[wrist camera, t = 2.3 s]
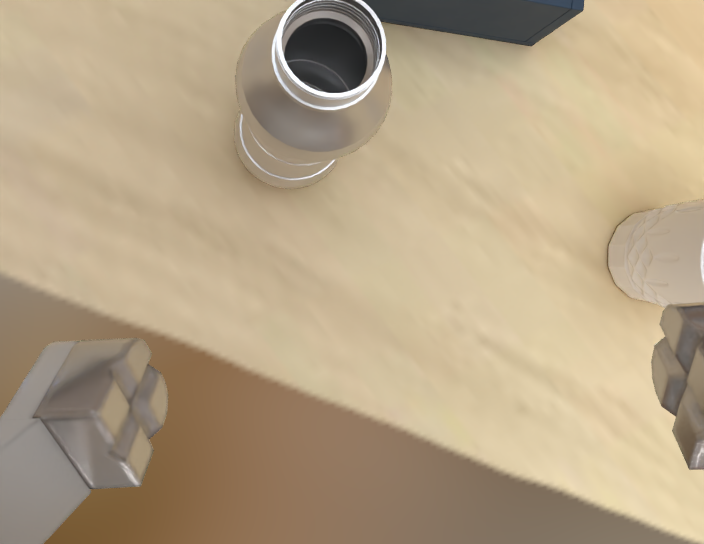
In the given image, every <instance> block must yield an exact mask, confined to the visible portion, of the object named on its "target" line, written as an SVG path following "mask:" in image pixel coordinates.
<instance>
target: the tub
mask: <svg viewBox="0 0 704 544" xmlns="http://www.w3.org/2000/svg"><path fill="white" fill-rule="evenodd" d="M362 1H363V2H365V3H366V4H367V5H368V6H369V7H370V8H371V9H372V10H373V11H374V13H375V14H376V16H377V17H378V18H379V20H380V21H381V22H387V23H394V24H400V25H406V26H412V27H418V28H424V29H430V30H436V31H442V32H449V33H455V34H461V35H467V36H473V37H479V38H485V39H491V40H498V41H504V42H510V43H516V44H522V45H528V46H532V45H534V44H535V43H536V42H538V41H539V40H541V39H542V38H544V37H545V36H547V35H548V34H550V33H551V32H553V31H554V30H555V29H557V28H558V27H560V26H561V25H563V24H564V23H566V22H567V21H569V20H570V19H572V18H573V17H575V16H576V15H578V14H579V13H580V12H582V11H583V8H584V0H362Z"/></svg>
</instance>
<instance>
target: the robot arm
mask: <svg viewBox="0 0 704 544" xmlns="http://www.w3.org/2000/svg"><path fill="white" fill-rule="evenodd" d="M660 326H661V328H662V330H663V332H664V334H665V337H664V338H663V339H662V340H660V341H659V342H658V343H657V344H656V345H655V346H654V351H653V356H652V361H651V364H652V379H653V383H654V387H655V391H656V394H657V396H658V399H659V401H660V404H661V406H662V407H663V408H665V409H666V410H668V411H669V412H670V413H672V414H673V415H674V416H676V419H675V423H674V426H673V430H672V432H673V434H674V436H675V438H676V441H677V443H678V445H679V447H680V450H681V452H682V454H683V456H684V459H685V461H686V463H687V465H688V468H689V470H694V469H704V302H696V303H682V304H668V305H667V306H666V308H665V309H664V311H663V313H662V317H661V321H660ZM151 355H152V353H151V351H150V349H149V348H148V346H147V344H146V342H145V340H142V339H139V338H123V339H100V340H99V339H97V340H81V341H59V342H52V343H51V344H49V345H47V346H46V347H45V348H44V349H43V351H42V352H41V354H40V356H39V357H38V359H37V361H36V362H35V364H34V365H33V367H32V368H31V370H30V371H29V373H28V375H27V376H26V378H25V380H24V381H23V383H22V384H21V386H20V388H19V389H18V391H17V392H16V394H15V395H14V397H13V398H12V400H11V402H10V403H9V405H8V406H7V408H6V410H5V411H4V413H3V415H2V416H1V418H0V544H43V543H44V542H45V541H46V540H47V539H48V538H49V537H50V536H51V535H52V534H53V533H54V532H55V531H56V529H57V528H58V527H59V526H60V525H61V524H62V523H63V522H64V521H65V520H66V519H67V518H68V517H69V516H70V514H71V513H72V512H73V511H74V510H75V509H76V508H77V507H78V506H79V505H80V503H82V502H83V500H84V499H85V498H86V497H87V496H88V495H89V494H90V493H91V490H90V489H102V488H118V487H136V486H141V484H142V481H143V479H144V476H145V473H146V471H147V468H148V465H149V462H150V460H151V457H152V454H153V451H154V450H153V448H152V445H151V443H150V441H149V439H150V438H151V437H152V436H153V435H154V434H156V433H157V432H158V431H159V430H160V429H161V428H162V426H163V423H164V420H165V417H166V414H167V406H168V392H167V387H166V383H165V380H164V378H163V376H162V374H161V372H159V371H158V370H156V369H155V368H153V367H152V366H150V365H149V364H148V362H149V360H150V358H151Z"/></svg>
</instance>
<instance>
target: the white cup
mask: <svg viewBox="0 0 704 544" xmlns="http://www.w3.org/2000/svg"><path fill="white" fill-rule="evenodd" d="M608 267H609V270H610V272H611V274H612V277H613V279H614V282H615V284H616V285H617V286H618V287H619V288H620V289H621V290H622V291H623V292H625V293H626V294H627V295H628V296H629V297H630V298H634V299H638V300H642V301H646V302H650V303H654V304H658V305H660V306H661V307H664V308H666V306H667V305H668V304H682V303H696V302H704V199H700V200H694V201H688V202H682V203H678V204H673V205H667V206H664V207H662V208H657V209H651V210H646V211H642V212H638V213H634V214H632V215H630V216H629V217H628V218H627V219H626V220H625V221H623V222H622V223H621V224H620V225H619V226H618V227H617V228H616V230H615V233H614V235H613V237H612V239H611V241H610V243H609V248H608Z"/></svg>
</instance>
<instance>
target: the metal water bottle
mask: <svg viewBox="0 0 704 544" xmlns="http://www.w3.org/2000/svg"><path fill="white" fill-rule="evenodd" d="M235 84H236V95H237V99H238V103H239V107H240V111H239V113H238V116H237V118H236V122H235V128H234V142H235V146H236V150H237V153H238V155H239V157H240V159H241V161H242V163H243V164H244V165H245V167H246V168H247V169H248V171H249V172H251V173H252V174H253V175H254V176H255V177H256V178H258V179H259V180H261V181H263V182H264V183H266V184H269V185H272V186H275V187H279V188H285V189H295V188H302V187H306V186H309V185H311V184H314V183H316V182H318V181H319V180H321V179H322V178H324V177H325V176H326V175H327V174H328V173H329V172H330V171H331V170H332V169H333V168H334V166H335V165H336V163H337V162H338V160H339V158H340V157H343V156H345V155H347V154H350V153H352V152H354V151H356V150H357V149H359V148H360V147H362V146H363V145H365V144H366V143H367V142H368V141H369V140H370V139H371V138H372V137H373V136H374V135H375V134H376V133H377V131H378V130H379V128H380V126H381V125H382V123H383V122H384V120H385V117H386V115H387V112H388V110H389V107H390V102H391V96H392V77H391V70H390V66H389V61H388V58H387V55H386V38H385V34H384V29H383V27H382V25H381V22H380V20H379V18H378V17H377V16H376V14H375V13H374V11H373V10H372V9H371V8H370V7H369V6H368V5H367V4H366V3H365V2H363V1H362V0H297V1H296V2H295V3H294V4H292V5H291V6H290V7H289V8H288V10H286V11H284V12H281V13H279V14H277V15H275V16H274V17H272V18H271V19H269V20H268V21H266V22H265V23H263V24H262V25H261V26H260V27H259V28H258V29H257V30H256V31H255V32H254V33H253V34H252V35H251V36H250V38H249V39H248V41H247V42H246V44H245V45H244V47H243V49H242V52H241V54H240V57H239V59H238V62H237V69H236V75H235Z"/></svg>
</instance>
